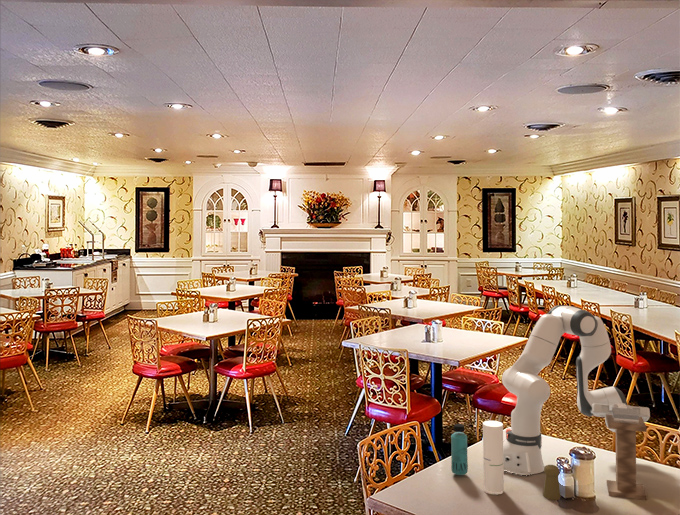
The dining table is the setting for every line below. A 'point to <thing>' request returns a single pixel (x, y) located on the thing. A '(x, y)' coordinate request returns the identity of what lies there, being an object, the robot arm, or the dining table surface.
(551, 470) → the olive shaker
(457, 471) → the beverage bottle
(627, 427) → the stand
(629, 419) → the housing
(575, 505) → the dining table surface
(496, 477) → the cylindrical container
